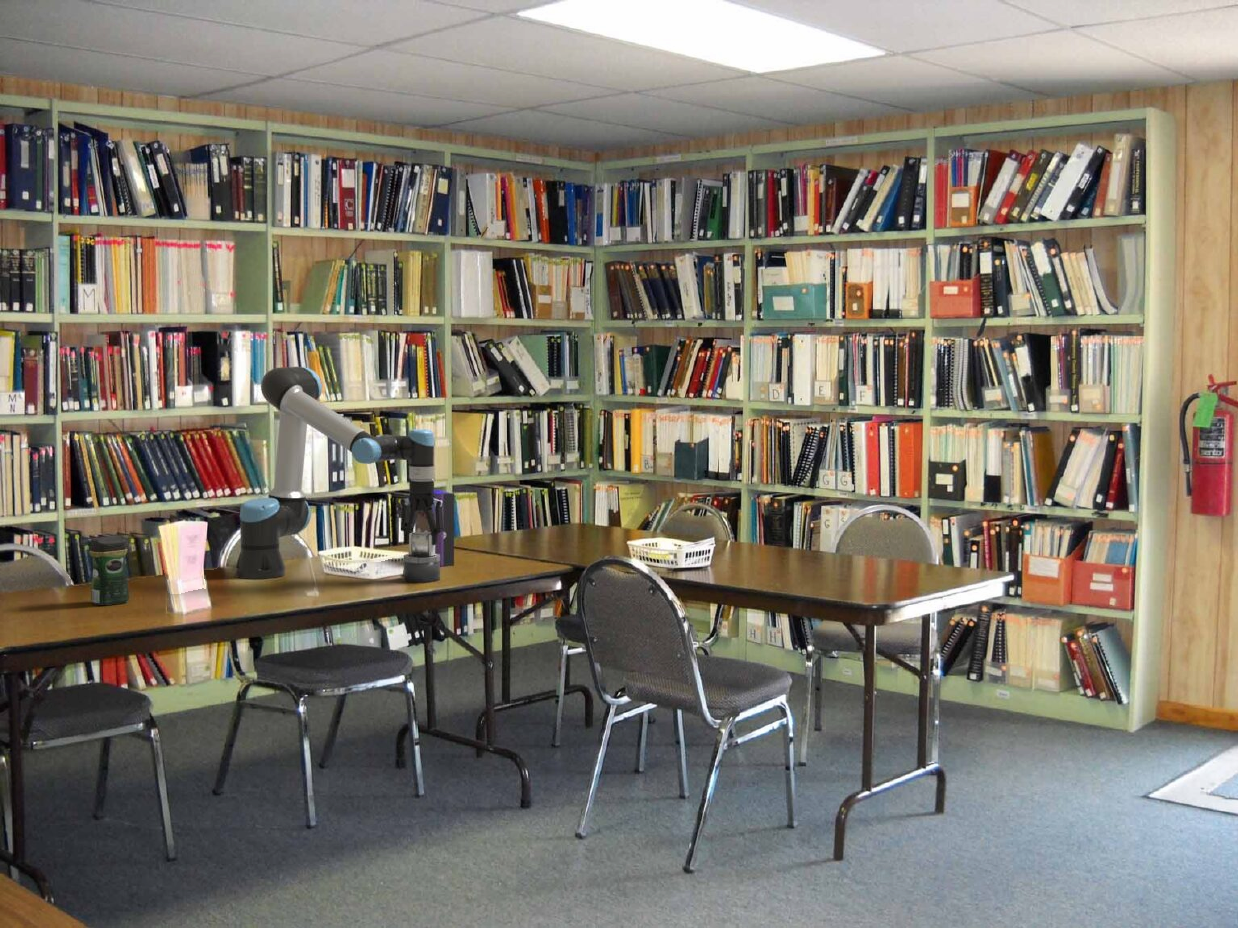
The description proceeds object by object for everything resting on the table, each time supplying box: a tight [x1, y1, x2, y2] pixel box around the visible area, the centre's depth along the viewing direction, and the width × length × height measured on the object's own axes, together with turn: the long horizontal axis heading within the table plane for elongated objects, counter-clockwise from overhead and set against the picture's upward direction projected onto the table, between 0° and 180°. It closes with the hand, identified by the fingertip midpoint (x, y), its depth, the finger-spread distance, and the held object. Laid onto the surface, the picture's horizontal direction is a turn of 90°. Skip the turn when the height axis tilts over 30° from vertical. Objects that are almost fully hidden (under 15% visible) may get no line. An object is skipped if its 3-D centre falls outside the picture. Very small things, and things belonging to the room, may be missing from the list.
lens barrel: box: [403, 553, 441, 584], centre depth 411 cm, size 11×11×8 cm
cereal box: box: [414, 489, 455, 568], centre depth 442 cm, size 17×5×24 cm, turn 37°
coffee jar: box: [89, 535, 130, 606], centre depth 369 cm, size 10×8×19 cm
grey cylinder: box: [412, 531, 431, 557], centre depth 410 cm, size 6×6×7 cm
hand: (422, 554), depth 410 cm, fingers closed on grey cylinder, 6 cm apart
